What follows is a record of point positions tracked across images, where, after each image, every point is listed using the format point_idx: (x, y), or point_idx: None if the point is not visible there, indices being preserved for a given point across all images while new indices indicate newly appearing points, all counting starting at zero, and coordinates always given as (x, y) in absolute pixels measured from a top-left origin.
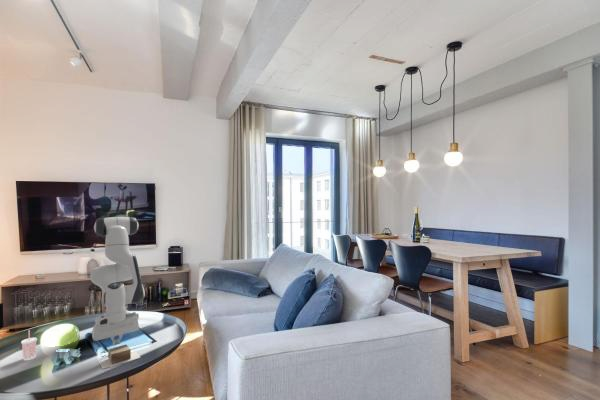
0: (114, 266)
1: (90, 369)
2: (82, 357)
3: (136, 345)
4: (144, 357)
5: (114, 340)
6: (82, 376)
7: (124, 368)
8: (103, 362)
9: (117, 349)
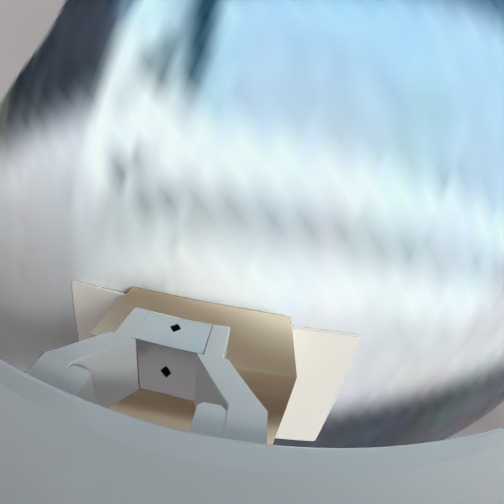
0: None
1: (36, 330)
2: (25, 72)
3: (444, 198)
4: (331, 444)
5: (137, 343)
6: (18, 363)
7: None
8: (94, 322)
9: (168, 415)
